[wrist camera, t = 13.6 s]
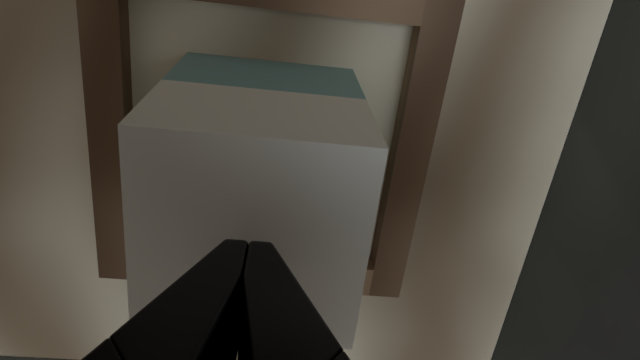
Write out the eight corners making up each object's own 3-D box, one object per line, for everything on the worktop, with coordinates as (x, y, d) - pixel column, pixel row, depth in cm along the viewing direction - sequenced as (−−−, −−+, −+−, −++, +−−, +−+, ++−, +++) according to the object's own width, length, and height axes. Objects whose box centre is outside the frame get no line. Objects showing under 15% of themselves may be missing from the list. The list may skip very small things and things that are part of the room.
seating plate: (648, -175, 13) (700, -192, 11) (475, 360, 20) (490, 397, 19) (-113, -295, 11) (-184, -336, 10) (5, 334, 19) (-23, 372, 17)
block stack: (352, 69, 14) (388, 148, 9) (332, 210, 16) (352, 349, 11) (188, 51, 14) (117, 124, 8) (187, 199, 16) (130, 337, 10)
